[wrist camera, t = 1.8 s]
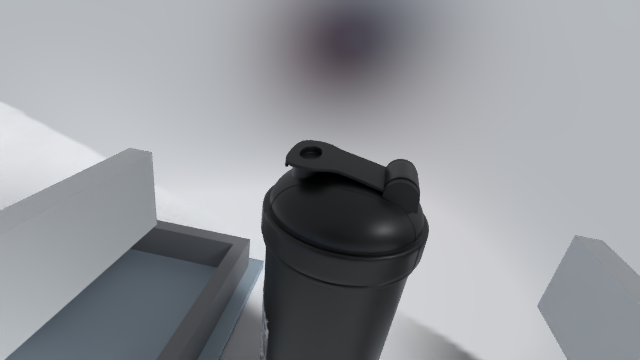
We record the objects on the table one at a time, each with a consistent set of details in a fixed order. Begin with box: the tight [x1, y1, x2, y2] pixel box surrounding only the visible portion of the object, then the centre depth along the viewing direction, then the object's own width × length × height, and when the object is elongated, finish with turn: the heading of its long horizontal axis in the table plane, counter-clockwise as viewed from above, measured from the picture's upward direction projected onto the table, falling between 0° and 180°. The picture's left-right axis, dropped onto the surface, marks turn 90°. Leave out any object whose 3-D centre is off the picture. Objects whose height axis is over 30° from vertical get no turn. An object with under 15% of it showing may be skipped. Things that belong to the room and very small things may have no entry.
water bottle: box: [260, 140, 429, 360], centre depth 25 cm, size 10×10×23 cm
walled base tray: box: [5, 220, 264, 360], centre depth 36 cm, size 20×20×5 cm
